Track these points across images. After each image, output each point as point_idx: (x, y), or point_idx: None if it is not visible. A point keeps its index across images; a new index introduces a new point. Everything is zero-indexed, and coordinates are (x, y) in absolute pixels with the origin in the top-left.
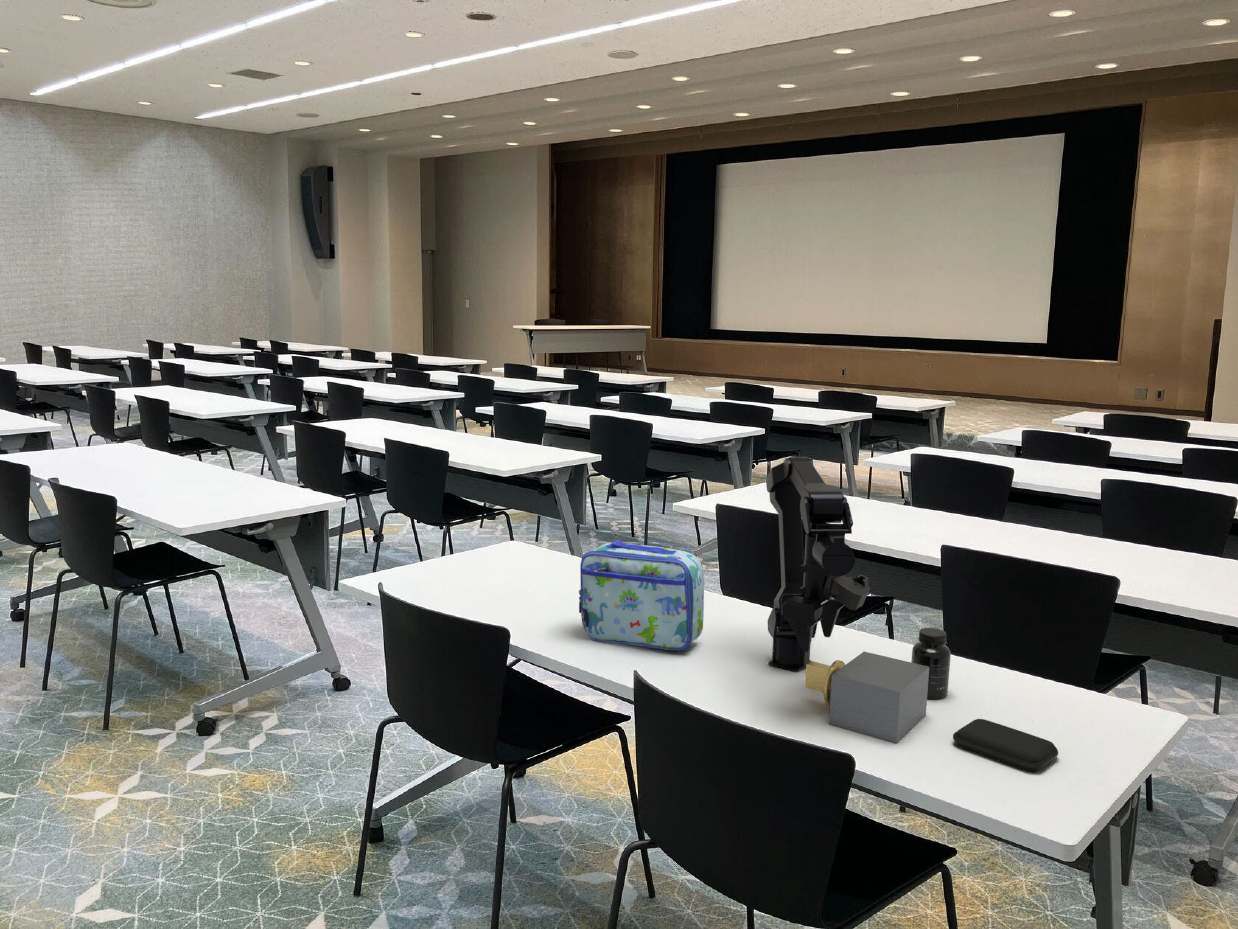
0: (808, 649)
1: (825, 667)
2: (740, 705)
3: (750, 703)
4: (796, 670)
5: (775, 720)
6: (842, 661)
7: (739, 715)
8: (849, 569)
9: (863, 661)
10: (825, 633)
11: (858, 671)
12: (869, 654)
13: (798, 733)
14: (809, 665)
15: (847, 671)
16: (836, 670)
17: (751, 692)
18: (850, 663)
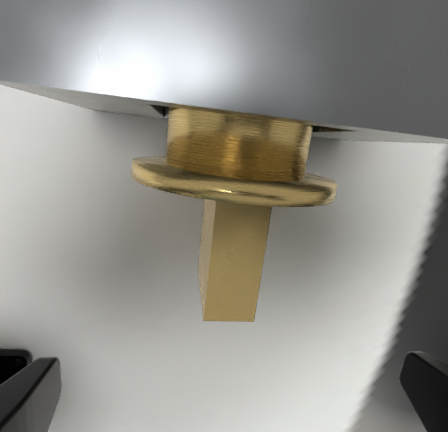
0: (443, 362)
1: (250, 239)
2: (325, 362)
3: (304, 351)
4: (26, 356)
5: (371, 267)
6: (191, 176)
7: (377, 340)
8: None
9: (193, 20)
10: (48, 408)
11: (397, 2)
12: (12, 14)
13: (422, 192)
14: (254, 306)
15: (419, 75)
16: (269, 178)
17: (240, 377)
18: (281, 97)
